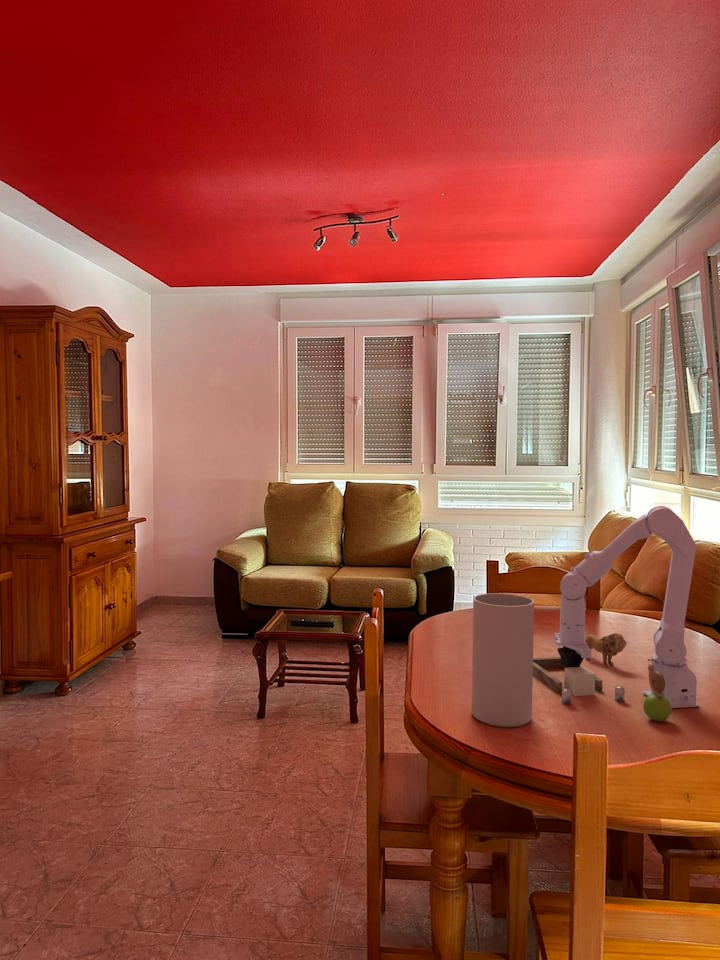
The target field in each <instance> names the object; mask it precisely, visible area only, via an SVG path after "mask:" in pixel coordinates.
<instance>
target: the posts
mask: <svg viewBox="0 0 720 960" xmlns="http://www.w3.org/2000/svg"><path fill="white" fill-rule="evenodd" d="M625 691H626V689H625V686H623V685H615V686H614V701H616V702H619V701H621V702H620V703H623V701H624V702H625V697H626V696H625ZM571 692H572V690H571V689H567V688H564V687H563V688H562V693H561V704H562V705H566V706H570V705H572V694H571Z"/></svg>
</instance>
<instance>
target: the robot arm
mask: <svg viewBox="0 0 720 960" xmlns="http://www.w3.org/2000/svg"><path fill="white" fill-rule="evenodd" d="M651 533H653V534H654V535H655V536H657V537H658V538H660V539H662V540H663V541H664V542H665V544H667V546H669V548H670V549H671V557H670V563H669V570H668V577H667V582H666V583H667V584H666V590H665V597H664V603H663V610H662V616H661V618H660V622H659V623H660V624H659V627H658V629H657V630H656V631H655V633H654V635H653V639H652V640H653V644H654V650H655V653H653V654H652V655H651V659H653V661H651V664H652V665H653V666H654V667H655V669H654V672H656V671H659V672H661V673H662V674H663V676H664V679H665V689H664V691H663V692H662V693H664V697H665V698H667V699H668V701H669V702H670V704H671V708H672V709H679V708H694V707H695V708H697V707H700V703H697V677H696V674H695V673H694V672H693V670H691V669H690V668H689V667H688V664H687V663H688V661H687V658H686V656H687V647H686V644H685V641H684V640H685V622H686V616H687V608H688V603H689V596H690V589H691V583H692V582H691V581H692V577H693V570H694V563H695V558H696V551H697V545H696V542H695V540H694V539H693V536H692V535H691V533H690V531H689V530H688V528H687V526H686V524H685V522H684V520H683V519H682V518H681V517H680V516H679V515H678V514H676V513H675V512H674V511H673V510H672V509H671V508H670V507H667V506H663V505H660V506H659V505H658V506H655V507H652V508H651V509H650V510H649V511H648V512H647V514H646V513H643V515H641V516H640V517H638V518H637V519H635V520H634V521H632V522H631V523H630V524H629V525H628V526H627V527H626V528H625V529H624V530H623V531H622V532H621V533H620V534H618V535H617V537H615V538H614V539H613V540H612V541H611V542H610V543H609V544H608V545H607V546H605V548H604V549H603V550H593V551H591V552H590V551H589V552H588V551H587V553H585V555H584V556H583V557H584V559H582V561H580V562H579V563H578V564H577V565H576V566H572V567H571V568H569V572H568V573H566V574H565V575H564V576H563V577H562V579H561V581H560V583H559V584H560V585H559V589H560V592H561V596H560V601H561V602H560V605H559V606H560V607H559V632H554V633H553V640H554V644H555V645H557V646H562V647H558V648H556V649H557V653H558V655H559V657H561V659H562V663H563V666H564V668H563V669H564V670H563V671H564V672H565V668H570V667H581V665H582V662H583V660H584V659H586V658H590V659H591V658H592V649H589V648H588V646H587V644H586V643H585V639H586V635H585V631H586V624H585V623H586V604H585V595H586V593H587V592H586V591H587V588H588V587H592V586H594V585H595V584H596V583H598V581H599V580H601V579H602V578H603V577H604V576H605V575H606V574H607V573H609V572H610V571H611V570H612V567H613V565H612V562H613V561H614V560H615V559H616V558H618V556H620V555H621V554H622V553H624V552H625V551H626V550H627V549H628V548H629V547H631V546H632V545H633V544H634V543H636V542H637V541H638V540H643V539H651V538H652V535H651ZM642 694H643V695H645V696H646V697H648V696H649V695H651V694H654V693H653V691H652V689H651V688H650V690H643V691H642Z"/></svg>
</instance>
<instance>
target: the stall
mask: <svg viewBox="0 0 720 960" xmlns="http://www.w3.org/2000/svg"><path fill="white" fill-rule="evenodd" d="M547 669H548V670H549V669H564V666H563V663H562V659H561V657H560V656H555V657H554V656H552V657H533V676H534V677H535V678H537V679H538V680H539V681H541V682H542V683H543V684H544V685H546V686H547V687H549V689H551V691H554V692H555V693H556V694H562V689H563V682H562V681H561V680H560V679H558V678H557V677H556V676H554V675H553V674H551V673H549V671H547ZM595 691H597V692H602V691H603V679H601V678H599V677H598V676H596V675H595Z"/></svg>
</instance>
